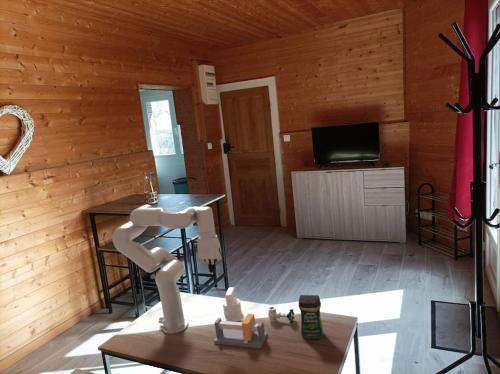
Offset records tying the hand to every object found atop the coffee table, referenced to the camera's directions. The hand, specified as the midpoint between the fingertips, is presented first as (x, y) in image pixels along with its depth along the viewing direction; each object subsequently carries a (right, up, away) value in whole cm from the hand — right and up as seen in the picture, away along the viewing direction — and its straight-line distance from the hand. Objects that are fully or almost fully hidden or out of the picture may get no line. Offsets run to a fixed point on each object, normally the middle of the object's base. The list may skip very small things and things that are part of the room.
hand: (212, 271), depth 176 cm
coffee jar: (+45, -26, -10) cm, 53 cm away
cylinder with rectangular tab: (+9, -26, +19) cm, 33 cm away
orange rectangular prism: (+17, -27, -8) cm, 33 cm away
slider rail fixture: (+13, -29, -6) cm, 33 cm away
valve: (+32, -25, +5) cm, 41 cm away
